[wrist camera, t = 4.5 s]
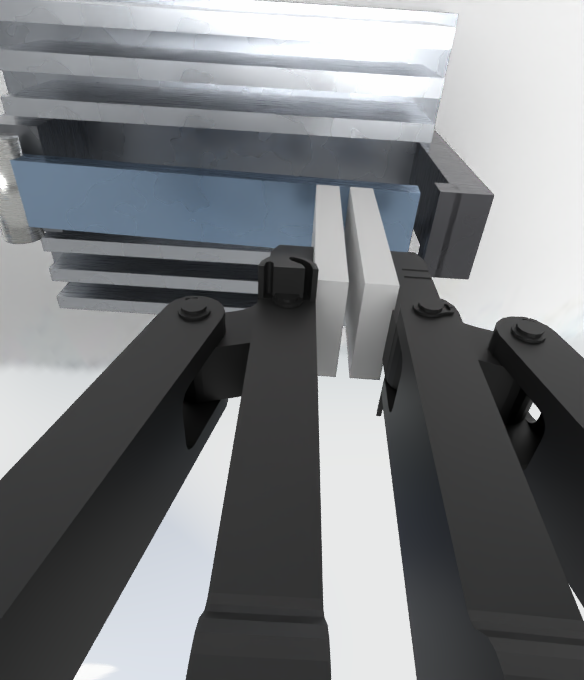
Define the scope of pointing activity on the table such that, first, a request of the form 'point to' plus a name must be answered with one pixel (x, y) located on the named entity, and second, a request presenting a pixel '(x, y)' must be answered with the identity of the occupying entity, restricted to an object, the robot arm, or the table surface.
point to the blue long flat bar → (176, 201)
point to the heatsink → (233, 123)
